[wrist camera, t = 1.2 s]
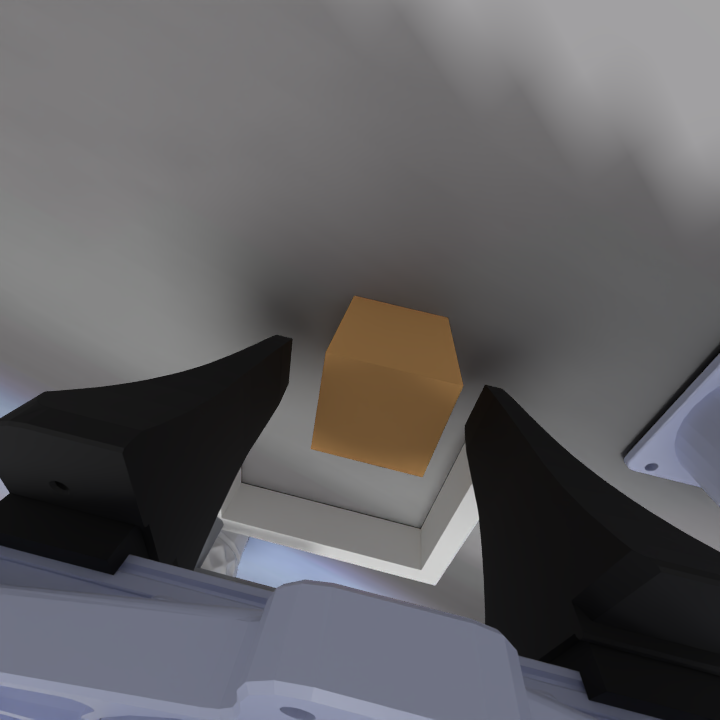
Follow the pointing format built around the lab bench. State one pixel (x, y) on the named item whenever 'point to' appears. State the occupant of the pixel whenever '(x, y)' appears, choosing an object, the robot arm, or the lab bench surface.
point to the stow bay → (353, 529)
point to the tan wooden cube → (387, 386)
